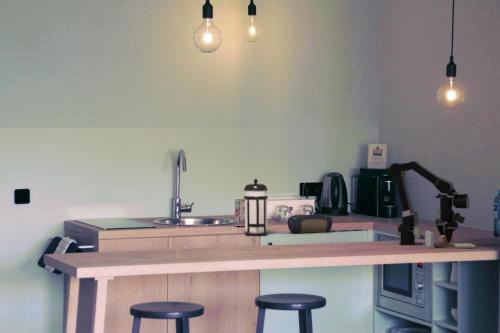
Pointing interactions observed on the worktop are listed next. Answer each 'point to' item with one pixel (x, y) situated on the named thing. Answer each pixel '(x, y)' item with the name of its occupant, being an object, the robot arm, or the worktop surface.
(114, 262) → the worktop surface
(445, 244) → the letter cube
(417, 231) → the beverage carton
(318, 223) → the portable speaker
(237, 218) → the candy bar box
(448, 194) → the robot arm
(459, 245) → the coaster
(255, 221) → the coffee press
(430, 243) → the screen
